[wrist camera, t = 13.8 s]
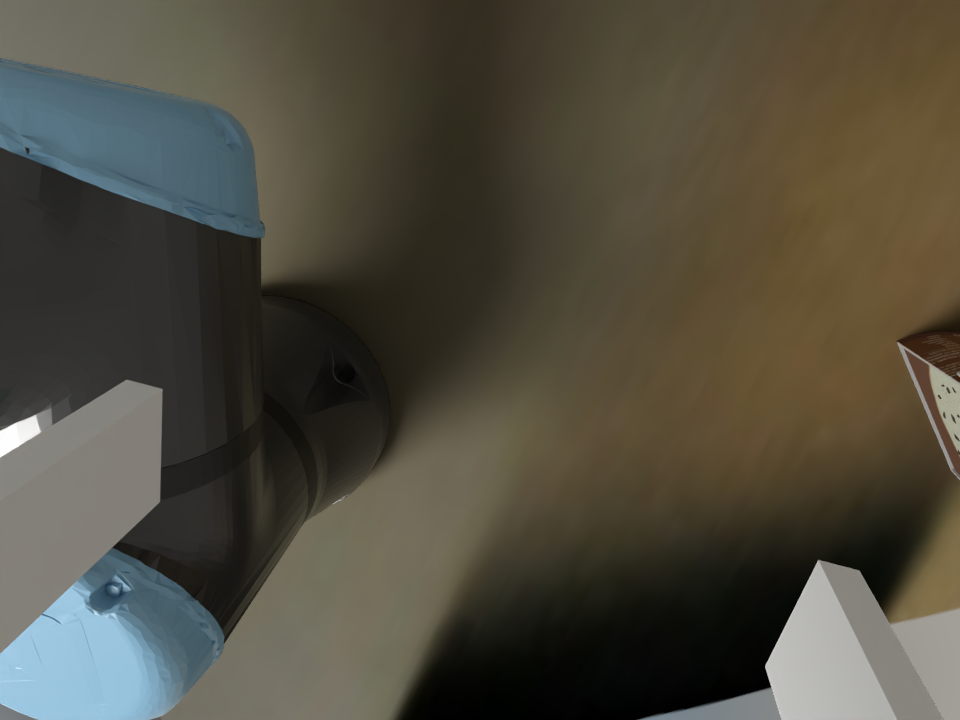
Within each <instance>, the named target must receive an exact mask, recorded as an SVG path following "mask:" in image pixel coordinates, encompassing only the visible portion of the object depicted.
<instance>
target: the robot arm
mask: <svg viewBox="0 0 960 720" xmlns="http://www.w3.org/2000/svg"><path fill="white" fill-rule="evenodd" d="M264 235H265V228H264V224H263V223H262V222H261V220H260V215H259V204H258V192H257V181H256V169H255V155H254V149H253V146H252V143H251V140H250V138H249V136H248V134H247V132H246V130H245V129H244V128H243V126H242V125H241V124H240V123H239V121H238V120H237V119H236V118H234V117H233V116H232V115H231V114H229V113H228V112H227V111H225V110H223V109H221V108H220V107H218V106H215V105H213V104H210V103H206V102H203V101H199V100H195V99H191V98H187V97H183V96H179V95H175V94H170V93H166V92H162V91H157V90H152V89H148V88H143V87H139V86H134V85H130V84H125V83H120V82H115V81H110V80H105V79H100V78H96V77H91V76H87V75H82V74H77V73H73V72H68V71H63V70H58V69H53V68H48V67H43V66H38V65H33V64H28V63H23V62H18V61H13V60H8V59H3V58H0V703H1V704H2V705H5V706H7V707H9V708H11V709H13V710H15V711H18V712H20V713H22V714H25V715H27V716H30V717H32V718H35V719H38V720H152V719H153V718H156V717H159V716H162V715H164V714H166V713H167V712H169V711H170V710H171V709H172V708H174V707H175V706H176V705H177V704H178V703H179V702H180V701H181V700H182V699H183V697H184V696H185V695H186V694H187V693H188V691H189V690H190V689H191V688H192V687H193V686H194V684H195V683H196V682H197V681H198V680H199V678H200V677H201V676H202V675H203V674H204V673H205V671H206V670H207V669H208V668H209V667H210V666H211V665H212V664H214V663H215V661H216V660H217V659H218V657H219V656H220V655H221V653H222V650H223V649H224V643H225V642H226V640H227V639H228V637H229V636H230V634H231V633H232V631H233V630H234V628H235V626H236V625H237V623H238V622H239V620H240V619H241V617H242V616H243V614H244V613H245V611H246V610H247V608H248V607H249V605H250V604H251V602H252V601H253V599H254V598H255V596H256V595H257V593H258V592H259V590H260V589H261V587H262V586H263V584H264V583H265V581H266V580H267V578H268V577H269V575H270V574H271V572H272V571H273V569H274V568H275V566H276V565H277V563H278V562H279V560H280V559H281V557H282V556H283V554H284V552H285V551H286V549H287V548H288V546H289V545H290V543H291V542H292V540H293V539H294V537H295V536H296V534H297V533H298V531H299V529H300V528H301V526H302V525H303V523H304V522H305V521H307V520H308V519H310V518H311V517H313V516H315V515H316V514H318V513H320V512H321V511H323V510H324V509H326V508H327V507H329V506H331V505H333V504H335V503H337V502H339V501H341V500H342V499H344V498H346V497H347V496H348V495H350V494H351V493H352V492H353V491H354V490H355V489H356V488H357V487H358V486H359V485H360V484H361V483H362V482H363V481H364V480H365V478H366V477H367V476H368V474H369V473H370V471H371V470H372V468H373V466H374V464H375V463H376V461H377V459H378V458H379V456H380V454H381V452H382V450H383V448H384V445H385V442H386V439H387V436H388V431H389V424H390V405H389V398H388V393H387V389H386V385H385V382H384V379H383V377H382V374H381V372H380V370H379V368H378V366H377V364H376V362H375V360H374V359H373V357H372V355H371V354H370V352H369V351H368V350H367V348H366V347H365V346H364V344H363V343H362V342H361V341H360V340H359V339H358V337H357V336H356V335H355V334H354V333H353V332H352V331H351V330H349V329H348V328H347V327H346V326H345V325H344V324H342V323H341V322H340V321H338V320H337V319H336V318H334V317H333V316H331V315H329V314H328V313H326V312H324V311H322V310H321V309H319V308H316V307H314V306H312V305H310V304H307V303H304V302H301V301H298V300H295V299H290V298H285V297H279V296H261V238H263V237H264ZM765 668H766V671H767V674H768V677H769V681H770V684H771V687H772V690H773V693H774V697H775V700H776V703H777V706H778V710H779V713H780V716H781V720H944V719H943V717H942V716H941V714H940V712H939V711H938V709H937V707H936V705H935V703H934V702H933V700H932V698H931V696H930V694H929V693H928V691H927V689H926V687H925V686H924V684H923V682H922V680H921V679H920V677H919V675H918V673H917V672H916V670H915V668H914V666H913V665H912V663H911V661H910V659H909V657H908V656H907V654H906V652H905V651H904V649H903V647H902V645H901V643H900V642H899V640H898V638H897V636H896V635H895V633H894V631H893V630H892V628H891V626H890V624H889V622H888V620H887V619H886V617H885V615H884V613H883V612H882V610H881V608H880V606H879V605H878V603H877V601H876V599H875V597H874V596H873V594H872V592H871V590H870V589H869V587H868V585H867V583H866V582H865V580H864V578H863V576H862V575H861V573H860V571H859V570H855V569H851V568H847V567H843V566H839V565H836V564H832V563H828V562H824V561H820V560H818V562H817V564H816V566H815V568H814V570H813V572H812V574H811V576H810V578H809V580H808V582H807V584H806V586H805V588H804V590H803V592H802V594H801V596H800V598H799V600H798V602H797V604H796V606H795V608H794V610H793V612H792V614H791V616H790V618H789V620H788V622H787V624H786V626H785V628H784V630H783V632H782V634H781V636H780V638H779V640H778V642H777V644H776V646H775V648H774V650H773V652H772V654H771V656H770V658H769V660H768V662H767V664H766V666H765Z"/></svg>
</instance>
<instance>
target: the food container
mask: <svg viewBox="0 0 960 720" xmlns="http://www.w3.org/2000/svg"><path fill="white" fill-rule="evenodd" d="M897 343H898V346H899V348H900V351H901V353H902V355H903V358H904V360H905V362H906V365H907V367H908V370H909V372H910V374H911V377H912V379H913V381H914V384H915V386H916V388H917V391H918V393H919V396H920V398H921V400H922V403H923V405H924V407H925V410H926V412H927V415H928V417H929V419H930V422H931V424H932V426H933V429H934V431H935V434H936V436H937V438H938V441H939V443H940V445H941V448H942V450H943V453H944V455H945V457H946V460H947V462H948V464H949V467H950V469H951V471H952V472H953V473H954V474H955V475H956V476H957V478H958V479H959V480H960V332H948V331H939V332H928V333H923V334H918V335H913V336H910V337H907V338H904V339H902V340H899V341H897Z"/></svg>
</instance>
